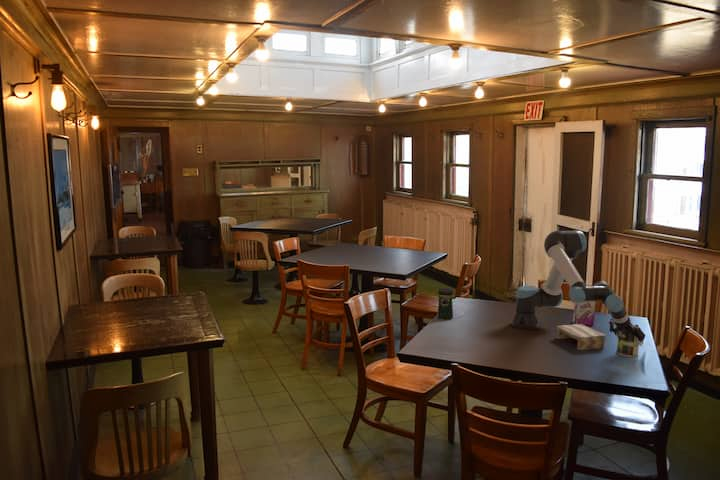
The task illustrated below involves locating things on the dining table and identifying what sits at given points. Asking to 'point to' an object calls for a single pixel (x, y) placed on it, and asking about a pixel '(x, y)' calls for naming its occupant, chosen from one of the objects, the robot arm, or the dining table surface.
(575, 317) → the candy bar box
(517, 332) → the dining table surface
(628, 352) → the coffee can
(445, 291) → the coffee jar
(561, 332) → the birch shelf
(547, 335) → the dining table surface
